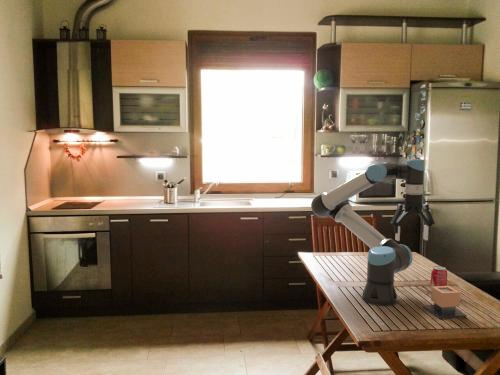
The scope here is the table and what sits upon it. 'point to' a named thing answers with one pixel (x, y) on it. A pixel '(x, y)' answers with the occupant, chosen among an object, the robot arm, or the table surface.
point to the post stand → (444, 310)
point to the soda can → (438, 276)
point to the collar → (445, 296)
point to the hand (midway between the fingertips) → (411, 240)
